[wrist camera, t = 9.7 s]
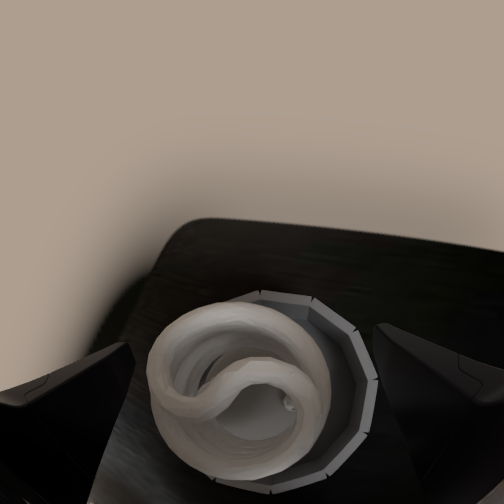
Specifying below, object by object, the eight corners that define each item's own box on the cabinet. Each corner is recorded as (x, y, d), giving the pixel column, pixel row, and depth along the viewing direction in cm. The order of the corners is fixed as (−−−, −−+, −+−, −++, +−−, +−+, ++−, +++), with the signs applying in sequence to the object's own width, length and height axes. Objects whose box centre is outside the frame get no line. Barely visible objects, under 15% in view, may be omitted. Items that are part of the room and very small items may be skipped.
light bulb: (220, 430, 15) (105, 462, 5) (229, 351, 18) (138, 273, 7) (308, 437, 14) (332, 507, 4) (314, 355, 17) (346, 279, 6)
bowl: (276, 504, 12) (272, 524, 9) (153, 393, 17) (128, 389, 14) (394, 375, 15) (414, 369, 12) (263, 279, 21) (257, 256, 18)
